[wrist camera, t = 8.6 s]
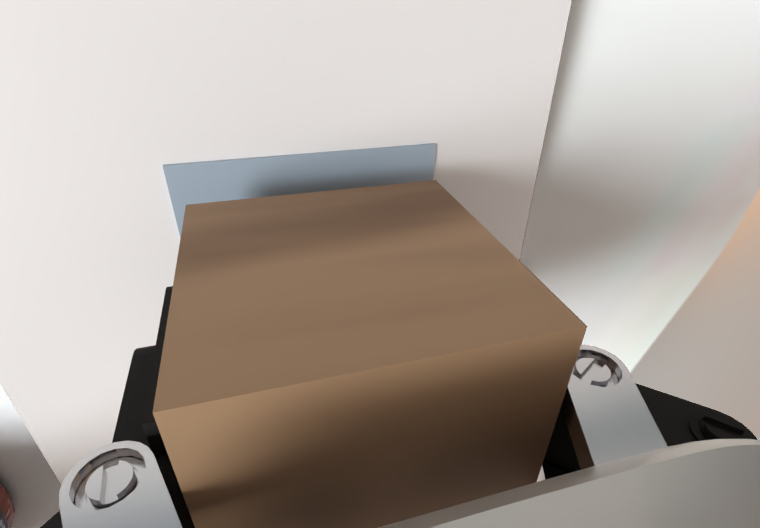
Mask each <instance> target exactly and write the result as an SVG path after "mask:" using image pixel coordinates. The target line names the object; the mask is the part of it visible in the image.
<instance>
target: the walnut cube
mask: <svg viewBox="0 0 760 528" xmlns="http://www.w3.org/2000/svg"><path fill="white" fill-rule="evenodd" d="M586 328H587V326H586V325H585V324H584V323H583V322H582V321H581V320H580V319H579V318H578V317H577V316H576V315H575V314H574V313H573V312H572V311H571V310H570V309H569V308H568V307H567V306H566V305H565V304H564V303H563V302H562V301H561V300H560V299H559V298H557V297H556V296H555V295H554V294H553V293H552V292H551V291H550V290H549V289H548V288H547V287H546V286H545V285H544V284H543V283H542V282H541V281H540V280H539V279H538V278H537V277H536V276H535V275H534V274H533V273H532V272H531V271H529V270H528V269H527V268H526V267H525V266H524V265H523V264H522V263H521V262H520V261H519V260H518V259H517V258H516V257H515V256H514V255H513V254H512V253H511V252H510V251H509V250H508V249H507V248H506V247H505V246H504V245H503V244H502V243H500V242H499V241H498V240H497V239H496V238H495V237H494V236H493V235H492V234H491V233H490V232H489V231H488V230H487V229H486V228H485V227H484V226H483V225H482V224H481V223H480V222H479V221H478V220H477V219H476V218H475V217H474V216H472V215H471V214H470V213H469V212H468V211H467V210H466V209H465V208H464V207H463V206H462V205H461V204H460V203H459V202H458V201H457V200H456V199H455V198H454V197H453V196H452V195H451V194H450V193H449V192H448V191H447V190H446V189H445V188H443V187H442V186H441V185H440V184H439V183H438V182H437V181H436V180H430V181H420V182H410V183H400V184H390V185H380V186H370V187H360V188H350V189H340V190H330V191H319V192H309V193H299V194H289V195H279V196H269V197H259V198H249V199H239V200H229V201H219V202H209V203H199V204H189V205H186V207H185V214H184V220H183V226H182V232H181V238H180V245H179V251H178V257H177V263H176V270H175V276H174V282H173V288H172V295H171V301H170V307H169V313H168V319H167V326H166V332H165V338H164V344H163V351H162V357H161V363H160V369H159V376H158V382H157V388H156V394H155V400H154V407H153V416H154V418H155V421H156V424H157V426H158V429H159V432H160V434H161V437H162V440H163V443H164V445H165V448H166V451H167V453H168V456H169V459H170V462H171V464H172V467H173V470H174V472H175V475H176V478H177V480H178V483H179V486H180V489H181V491H182V494H183V497H184V499H185V502H186V505H187V508H188V510H189V513H190V516H191V518H192V521H193V524H194V527H195V528H379V527H382V526H386V525H389V524H393V523H396V522H400V521H403V520H407V519H410V518H413V517H417V516H420V515H424V514H427V513H431V512H434V511H438V510H441V509H445V508H448V507H452V506H455V505H459V504H462V503H465V502H469V501H472V500H476V499H479V498H483V497H486V496H490V495H493V494H497V493H500V492H504V491H507V490H511V489H514V488H518V487H521V486H525V485H529V484H532V483H536V482H537V479H538V476H539V473H540V470H541V467H542V464H543V461H544V457H545V454H546V451H547V448H548V445H549V442H550V439H551V436H552V433H553V430H554V427H555V424H556V421H557V417H558V414H559V411H560V408H561V405H562V402H563V399H564V396H565V393H566V390H567V387H568V384H569V381H570V377H571V374H572V371H573V368H574V365H575V362H576V359H577V356H578V353H579V350H580V347H581V344H582V341H583V337H584V334H585V331H586Z"/></svg>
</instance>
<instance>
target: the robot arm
mask: <svg viewBox="0 0 760 528" xmlns="http://www.w3.org/2000/svg"><path fill="white" fill-rule="evenodd" d="M172 288H173V286H169V287H166V291H165V296H164V302H163V307H162V313H161V318H160V324H159V329H158V335H157V340H156V345H154V346H148V347H142V348H137V349H136V350H134V353H133V356H132V360H131V364H130V368H129V373H128V377H127V381H126V385H125V390H124V394H123V398H122V402H121V406H120V411H119V415H118V419H117V423H116V428H115V432H114V436H113V440H112V443H111V444H108V445H105V446H103V447H100V448H98V449H96V450H95V451H93V452H91V453H90V454H88V455H86V456H85V457H84V458H83V459H82V460H80V461H79V462H78V463H77V464H76V465H75V466H74V467H73V468H72V469H71V470H70V472H69V473H68V474H67V476H66V477H65V478H64V481H63V483H62V485H61V488H60V490H59V508H60V511H59V512H58V513H57V514H56V515H54V516H53V517H52V518H51V519H50V520H49V521H47V522H46V523H45V524H44V525H43V526H42V527H40V528H195V527H194V524H193V521H192V518H191V516H190V513H189V510H188V508H187V505H186V502H185V499H184V497H183V494H182V491H181V489H180V486H179V483H178V480H177V478H176V475H175V472H174V470H173V467H172V464H171V462H170V459H169V456H168V453H167V451H166V448H165V445H164V443H163V440H162V437H161V434H160V432H159V429H158V426H157V424H156V421H155V418H154V416H153V407H154V400H155V394H156V388H157V382H158V376H159V369H160V363H161V357H162V351H163V344H164V338H165V332H166V326H167V319H168V313H169V307H170V301H171V295H172ZM379 528H760V438H759V440H757V438H756V437H755V436H754V435H753V433H752V432H751V431H750V430H749V429H747V428H746V427H745V426H744V425H743V424H742V423H740V422H738V421H737V420H735V419H734V418H732V417H730V416H728V415H726V414H723V413H721V412H719V411H716V410H713V409H710V408H707V407H704V406H701V405H698V404H695V403H692V402H689V401H686V400H684V399H680V398H678V397H674V396H672V395H669V394H666V393H663V392H660V391H657V390H654V389H650V388H648V387H645V386H642V385H639V384H636V383H635V382H634V380H633V378H632V376H631V374H630V372H629V370H628V369H627V367H626V366H625V365H624V363H623V362H622V361H621V360H620V359H618V358H617V357H616V356H615V355H613V354H611V353H609V352H608V351H606V350H603V349H600V348H597V347H594V346H588V345H581V347H580V350H579V353H578V356H577V359H576V362H575V365H574V368H573V371H572V374H571V377H570V381H569V384H568V387H567V390H566V393H565V396H564V399H563V402H562V405H561V408H560V411H559V414H558V417H557V421H556V424H555V427H554V430H553V433H552V436H551V439H550V442H549V445H548V448H547V451H546V454H545V457H544V461H543V464H542V467H541V470H540V473H539V476H538V479H537V482H536V483H532V484H529V485H525V486H521V487H518V488H514V489H511V490H507V491H504V492H500V493H497V494H493V495H490V496H486V497H483V498H479V499H476V500H472V501H469V502H465V503H462V504H459V505H455V506H452V507H448V508H445V509H441V510H438V511H434V512H431V513H427V514H424V515H420V516H417V517H413V518H410V519H407V520H403V521H400V522H396V523H393V524H389V525H386V526H382V527H379Z"/></svg>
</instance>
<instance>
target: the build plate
mask: <svg viewBox="0 0 760 528" xmlns="http://www.w3.org/2000/svg"><path fill="white" fill-rule="evenodd" d="M571 2H572V0H0V384H1V385H2V387H3V389H4V390H5V392H6V394H7V395H8V397H9V399H10V400H11V402H12V404H13V405H14V407H15V409H16V410H17V412H18V414H19V415H20V417H21V419H22V421H23V422H24V424H25V426H26V427H27V429H28V431H29V432H30V434H31V436H32V437H33V439H34V441H35V442H36V444H37V446H38V447H39V449H40V451H41V452H42V454H43V456H44V457H45V459H46V461H47V462H48V464H49V466H50V467H51V469H52V471H53V472H54V474H55V476H56V477H57V479H58V481H59V482H60V484H61V485H62V483H63V481H64V478H65V477H66V476H67V474H68V473H69V472H70V470H71V469H72V468H73V467H74V466H75V465H76V464H77V463H78V462H79V461H80V460H82V459H83V458H84V457H85V456H86V455H88V454H90V453H91V452H93V451H95V450H96V449H98V448H100V447H103V446H105V445H108V444H111V443H112V440H113V436H114V432H115V428H116V423H117V419H118V415H119V411H120V406H121V402H122V398H123V394H124V390H125V385H126V381H127V377H128V373H129V368H130V364H131V360H132V356H133V353H134V350H136V349H137V348H142V347H148V346H154V345H156V340H157V335H158V329H159V324H160V318H161V313H162V307H163V302H164V296H165V291H166V287H169V286H173V282H174V276H175V270H176V263H177V257H178V251H179V245H180V238H181V232H182V226H183V220H184V214H185V207H186V205H189V204H199V203H209V202H219V201H229V200H239V199H249V198H259V197H269V196H279V195H289V194H299V193H309V192H319V191H330V190H340V189H350V188H360V187H370V186H380V185H390V184H400V183H410V182H420V181H430V180H436V181H437V182H438V183H439V184H440V185H441V186H442V187H443V188H445V189H446V190H447V191H448V192H449V193H450V194H451V195H452V196H453V197H454V198H455V199H456V200H457V201H458V202H459V203H460V204H461V205H462V206H463V207H464V208H465V209H466V210H467V211H468V212H469V213H470V214H471V215H472V216H474V217H475V218H476V219H477V220H478V221H479V222H480V223H481V224H482V225H483V226H484V227H485V228H486V229H487V230H488V231H489V232H490V233H491V234H492V235H493V236H494V237H495V238H496V239H497V240H498V241H499V242H500V243H502V244H503V245H504V246H505V247H506V248H507V249H508V250H509V251H510V252H511V253H512V254H513V255H514V256H515V257H516V258H517V259H518V260H519V261H520V256H521V251H522V246H523V241H524V236H525V231H526V226H527V221H528V216H529V211H530V206H531V201H532V196H533V191H534V186H535V181H536V176H537V171H538V166H539V161H540V156H541V151H542V146H543V141H544V136H545V132H546V127H547V122H548V117H549V112H550V107H551V102H552V97H553V92H554V87H555V82H556V77H557V72H558V67H559V62H560V57H561V52H562V47H563V42H564V37H565V32H566V27H567V22H568V17H569V12H570V7H571Z"/></svg>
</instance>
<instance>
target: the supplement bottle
mask: <svg viewBox="0 0 760 528" xmlns="http://www.w3.org/2000/svg"><path fill="white" fill-rule="evenodd" d="M14 511H15V509H14V506H13V503H12V499H11V497H10V495H9V494H8V492H7V491H6V489H5V488H3V486H2V485H0V528H11V526H12V522H13V519H14Z"/></svg>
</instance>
